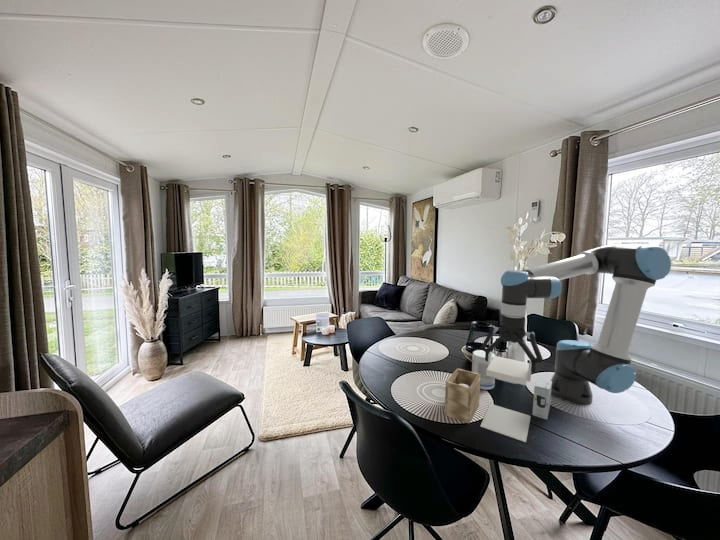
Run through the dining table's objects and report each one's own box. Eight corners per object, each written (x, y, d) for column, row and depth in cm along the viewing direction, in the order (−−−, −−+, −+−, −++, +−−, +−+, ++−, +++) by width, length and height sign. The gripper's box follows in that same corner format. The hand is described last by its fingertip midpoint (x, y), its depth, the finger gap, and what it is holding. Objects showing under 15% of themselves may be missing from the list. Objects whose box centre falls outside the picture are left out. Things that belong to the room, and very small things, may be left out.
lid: (530, 372, 106) (530, 363, 105) (525, 389, 94) (526, 379, 93) (494, 363, 113) (494, 355, 112) (485, 378, 100) (486, 369, 100)
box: (478, 405, 115) (480, 374, 114) (469, 423, 104) (471, 389, 102) (455, 398, 120) (457, 368, 119) (444, 415, 109) (445, 381, 107)
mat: (530, 416, 108) (530, 415, 108) (525, 442, 94) (526, 441, 94) (490, 404, 116) (490, 403, 116) (480, 426, 102) (480, 425, 102)
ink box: (535, 405, 116) (537, 376, 114) (550, 409, 112) (552, 380, 111) (531, 415, 109) (534, 385, 108) (547, 420, 106) (549, 389, 105)
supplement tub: (498, 386, 130) (500, 355, 128) (486, 392, 124) (487, 359, 123) (479, 378, 138) (480, 348, 136) (466, 383, 133) (468, 352, 131)
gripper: (555, 318, 97) (549, 380, 99) (478, 308, 111) (475, 362, 113) (554, 323, 91) (548, 389, 93) (473, 312, 105) (470, 369, 107)
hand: (508, 375), depth 103 cm, fingers closed on lid, 12 cm apart
